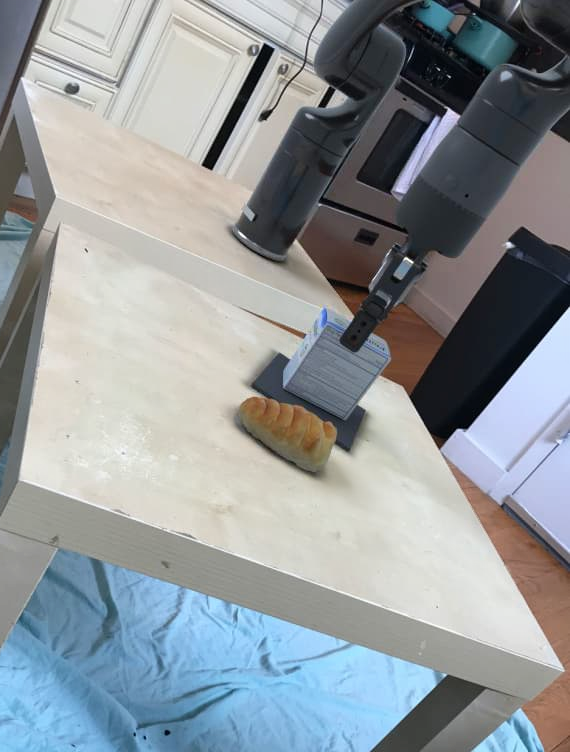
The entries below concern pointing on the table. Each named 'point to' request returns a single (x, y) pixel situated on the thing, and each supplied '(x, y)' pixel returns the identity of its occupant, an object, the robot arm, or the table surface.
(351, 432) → the mat
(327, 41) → the robot arm
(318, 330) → the medicine box
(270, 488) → the table surface
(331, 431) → the pastry
